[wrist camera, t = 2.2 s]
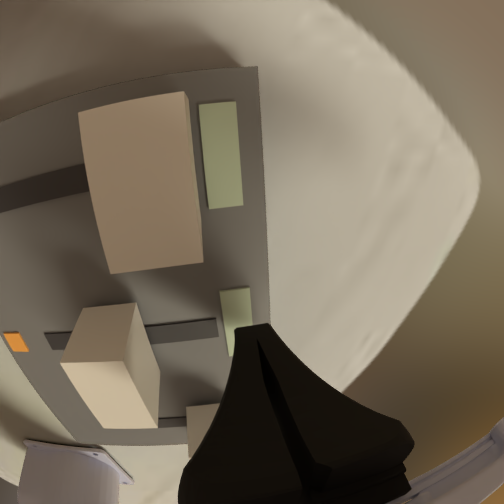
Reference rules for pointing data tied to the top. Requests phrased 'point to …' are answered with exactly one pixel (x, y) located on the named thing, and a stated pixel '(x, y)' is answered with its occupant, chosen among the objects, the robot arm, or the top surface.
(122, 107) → the block
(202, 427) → the block
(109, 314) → the breaker
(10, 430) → the top surface
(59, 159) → the breaker panel
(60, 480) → the robot arm
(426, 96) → the top surface
